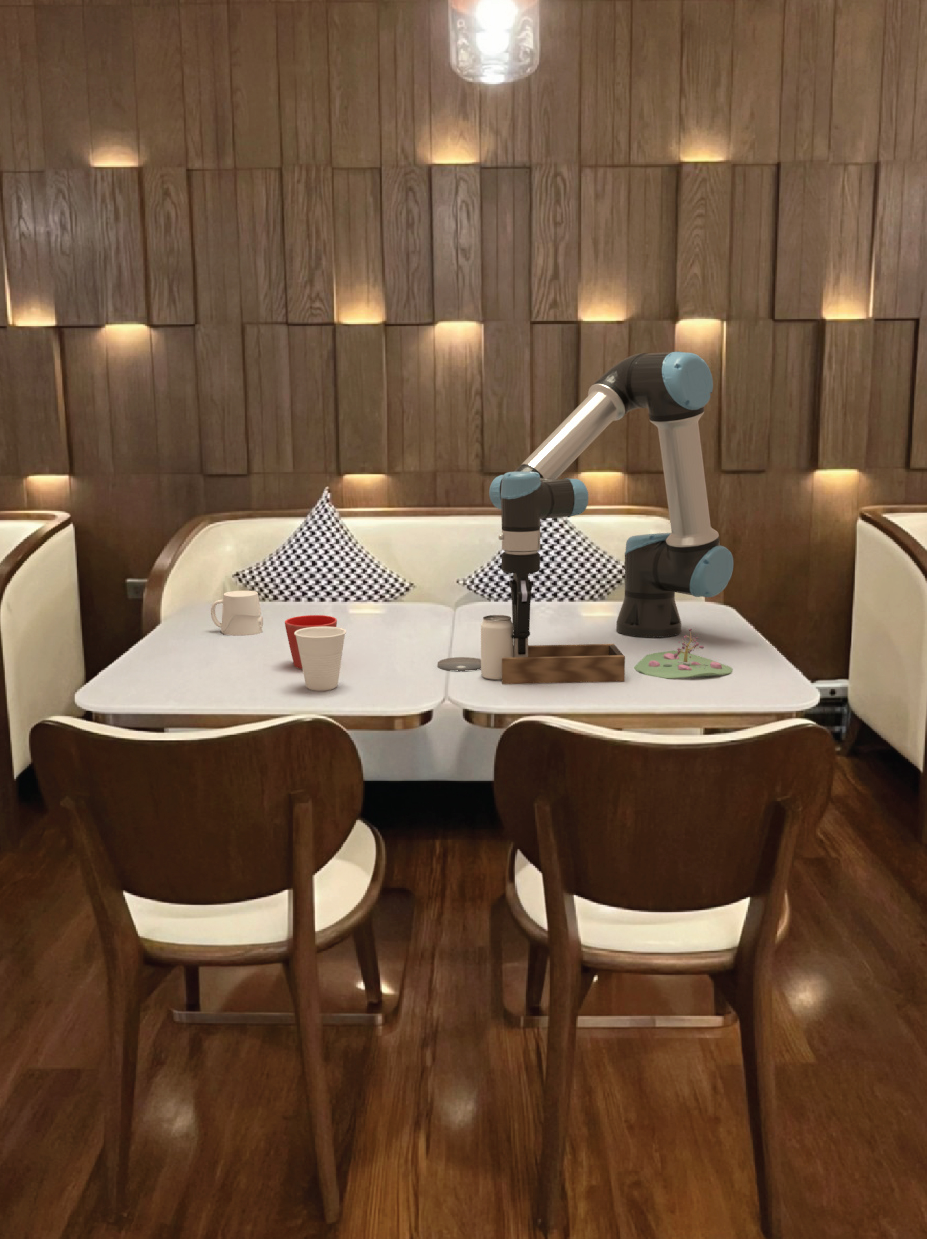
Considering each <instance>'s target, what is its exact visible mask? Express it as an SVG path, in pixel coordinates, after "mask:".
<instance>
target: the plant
mask: <svg viewBox="0 0 927 1239" xmlns="http://www.w3.org/2000/svg"><path fill="white" fill-rule="evenodd" d="M691 631H693V629H692V628H689V629H688V632H689V633H690V634H689V635H690V636H689V635H687V634H685V635H684V636H683V638H682V639H681V641H683V642H681V641H678V644H680V643H681V648H680V647H678V648H677V649H676V650H668V651H661V652H658V651H657V652H654V653H648V654H646V655H645V656H644V657H643V658H642V659H640V660H639V661H638V662H637V664H635V665H634V667H633V669H634V670H635V671H636V672H637V673H639V674H642V675H645V676H649V677H655V678H658V679H659V678H660V679H666V680H667V679H668V680H669V679H670V680H672V679H686V678H687V679H689V678H702V677H703V678H704V677H714V676H715V677H717V676H724V675H725V676H726V675H730V674H732V673H733V668H732V667H731V666H729V665H726V664H723V663H721V662H717V661H715V660H712V659H710V658H706V657H703V656H701V655H697V654H693V653H691V652H693V651H694V650H695V649H697V648H698V649H704V648H705V647H704V645H700V643H699V642H697V639H699V637H698V636H697V637H693V636H692V633H691ZM687 638H689V641H688V639H687ZM684 639H685V641H684ZM686 641H688V643H687V642H686ZM691 643H692V644H694V643H695V644H694V645H691ZM683 650H685V651H683Z"/></svg>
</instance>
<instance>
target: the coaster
mask: <svg viewBox="0 0 927 1239" xmlns="http://www.w3.org/2000/svg"><path fill="white" fill-rule="evenodd" d="M437 668H438V669H440V670H442V671H443V670H444V671H449V672H451V671H450V670H458V671H457V672H460V671H462V672H466V671H465V670H475V671H478V670H477V669H480V668H481V658H476V657H467V656H466V657H464V656H460V657H459V656H458V657H447V658H444V659H441V660H439V661H437ZM480 670H481V669H480Z"/></svg>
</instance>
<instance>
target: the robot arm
mask: <svg viewBox="0 0 927 1239" xmlns="http://www.w3.org/2000/svg"><path fill="white" fill-rule="evenodd" d="M713 380H714V379H713V375H712V372H711V370H710V367H709V365H708V364H707V362H706V361H705V360H704V358H702V357H701V356H700V355H698V354H696V353H693V352H684V351H679V350H678V351H665V352H650V353H648V352H643V353H641V352H640V353H636V354H632V355H630V356H628V357H626V358H624V359H622V360H621V361H619V362H618V363H616V364H615V365H614V366H612V367H610V368H609V369H608V370H607V371H606V372H605V373H604V374H602V375H601V376H600V377H599V378H598V379H597V380H596V381H595V382H594V383H593V384H591V386H590V387H589V388H588V392H587V397H586V398H585V399H583V401H582V402H581V403H580V404H579V405H578V406H577V407H576V408H575V409H573V411H572V412H571V413H569V415H568V416H567V417H566V418H565V419H564V420H563V421H562V422H561V423H560V424H559V426H557V428H555V430H554V431H553V432H552V433H550V434H549V435H548V437H547V438H546V439H545V440H543V441H542V443H541V444H540V445H538V447H537V448H536V449H535V450H534V451H533V452H532V453H531V454H530V455H529V456H528V457H527V458H526V459H525V460H524V461H523V462H522V463H521V464H520V465H519V466H518V467H517V468H515V470H514V471H508V472H505V473H504V474H500V475H498V476H496V477H495V478H494V479H493V480H492V481H491V483H490V486H489V492H488V495H489V499H490V501H491V504H492V505H493V506H494V508H496V509H498V510H501V511H500V513H501V533H502V534H499V535H498V540H500V541H501V550H502V551H504V552H502V554H501V571H502V572H504V573H507V574H513V576H512V579H509V589H510V600H511V614H512V615H511V616H512V617H511V621H512V623H513V635H512V638H513V646H514V657H528V645H529V637H530V635H531V632H530V628H531V627H530V626H531V625H530V624H531V622H530V621H531V603H532V602H531V601H532V594H533V592H532V590H533V583H532V581H531V579H529V574H535V573H538V572H539V571H540V569H541V553H539V552H538V551H540V550H541V520H546V519H554V518H555V519H556V518H571V517H573V516H574V517H575V516H579V515H582V514H583V513H584V512H585V510H586V509H587V507H588V506H589V505H588V504H589V490H588V487H587V486H586V484H585V483H584V482H583V481H582V480H580V479H578V478H567V477H565V478H562V479H560V478H559V477H560V476H561V475H562V474H563V473H564V472H565V471H566V470H567V469H568V468H569V467H570V466H571V465H572V464H573V463H574V462H575V460H577V458H578V457H579V456H580V455H581V454H582V453H583V452H584V451H585V450H586V449H587V448H588V447H589V446H590V445H591V444H592V443H593V442H594V441H595V440H596V439H597V438H598V436H600V435H601V434H602V433H603V431H605V429H606V428H607V427H608V426H609V425H610V424H611V423H612V422H613V421H619V420H621V419H622V418H623V417H624V416H625V415H626V414H628V413H629V412H631V411H633V410H636V409H637V410H638V409H647V411H648V418H649V422H650V423H652V424H653V425H654V426H655V427H657V432H658V438H659V439H658V440H659V445H660V446H659V447H660V448H659V449H660V454H661V463H662V469H663V476H664V478H663V479H664V484H665V492H666V500H667V507H668V515H669V524H670V529H671V532H659V533H658V532H657V533H648V534H638V535H632V536H630V537H628V539H627V540H626V542H625V552H624V599H623V602H622V604H621V607H620V610H619V612H618V616H617V619H616V625H615V626H616V629H615V630H616V632H618V633H619V634H621V635H625V636H631V637H639V638H665V637H666V638H668V637H673V636H677V635H680V634H681V633H682V620H681V617H680V614H679V610H678V606H677V603H676V601H675V600H676V599H675V598H676V595H675V594H676V593H677V594H683V595H687V596H693V597H696V598H701V597H703V598H712V597H713V598H714V597H716V596H717V595H719V594H721V593H722V592H723V591H724V590H725V589H726V587H727V586H728V583H729V582H730V580H731V578H732V574H733V571H734V556H733V554H732V552H731V551H730V550H729V548H727V547H726V546H723V545H721V544H720V543H721V541H720V535H719V532H718V530H716V529H714V528H712V525H711V519H710V510H709V502H708V491H707V485H706V477H705V476H706V475H705V469H704V467H705V466H704V459H703V458H704V457H703V452H702V442H701V435H700V427H699V421H700V419H701V418H702V416H703V415H704V413H705V406H706V405H707V404H708V403H709V401H710V399H711V393H712V392H713V388H714V381H713ZM558 478H559V479H558Z"/></svg>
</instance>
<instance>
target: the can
mask: <svg viewBox="0 0 927 1239" xmlns="http://www.w3.org/2000/svg"><path fill="white" fill-rule="evenodd" d="M512 635H514V634H513V623H512V617H511V616H509V615H503V614H491V615H485V616H483V617H482V622H481V624H480V659H481V669H480V674H481V676H482V678H483V677H484V678H483V679H486V680H490V681H502V658H511V657H513V646H514V638H512Z"/></svg>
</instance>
